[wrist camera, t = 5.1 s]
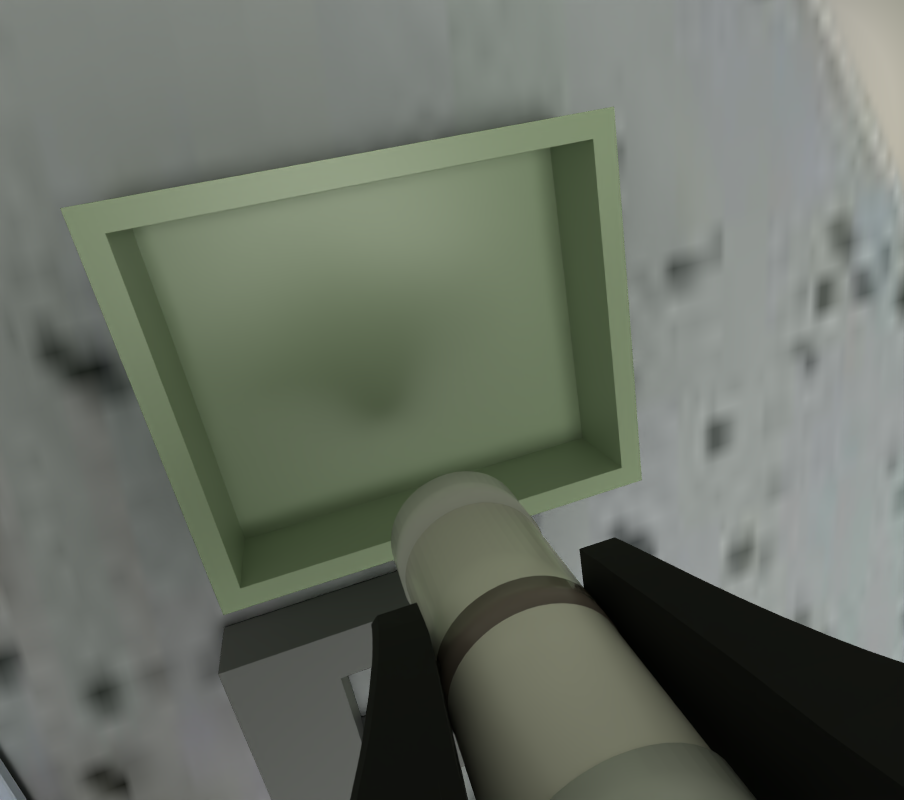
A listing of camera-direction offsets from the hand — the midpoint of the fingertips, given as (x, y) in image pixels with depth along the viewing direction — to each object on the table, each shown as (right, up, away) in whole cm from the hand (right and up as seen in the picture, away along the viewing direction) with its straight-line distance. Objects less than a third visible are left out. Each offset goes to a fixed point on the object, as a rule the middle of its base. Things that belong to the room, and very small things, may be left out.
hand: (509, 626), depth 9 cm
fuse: (-1, +1, +3) cm, 3 cm away
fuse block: (-3, -5, +12) cm, 13 cm away
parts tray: (-3, +5, +8) cm, 10 cm away
